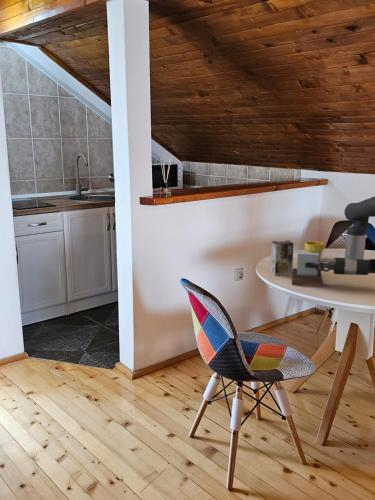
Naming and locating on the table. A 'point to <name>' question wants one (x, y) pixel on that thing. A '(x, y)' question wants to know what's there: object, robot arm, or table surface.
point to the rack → (306, 279)
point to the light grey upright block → (304, 259)
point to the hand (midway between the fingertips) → (305, 264)
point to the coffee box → (282, 258)
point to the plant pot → (314, 247)
